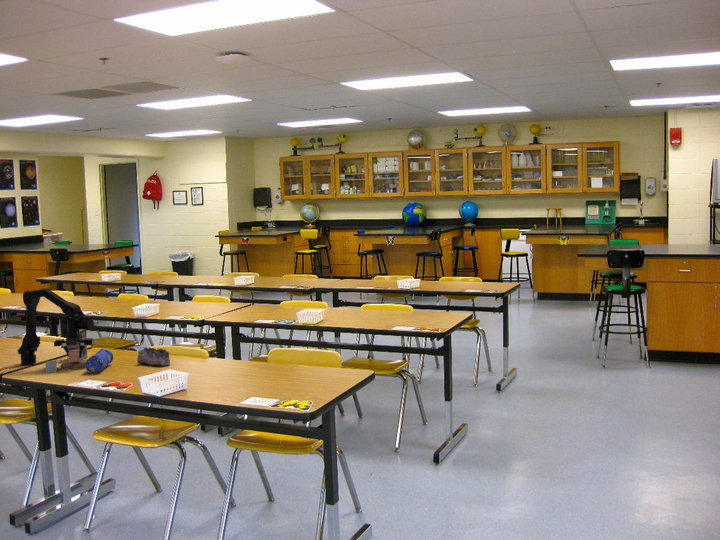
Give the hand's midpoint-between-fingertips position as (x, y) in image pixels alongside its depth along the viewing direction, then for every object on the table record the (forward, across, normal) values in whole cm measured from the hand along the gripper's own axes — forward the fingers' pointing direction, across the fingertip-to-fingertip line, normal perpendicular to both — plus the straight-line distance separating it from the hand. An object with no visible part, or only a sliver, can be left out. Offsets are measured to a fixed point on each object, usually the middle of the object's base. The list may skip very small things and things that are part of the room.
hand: (74, 358), depth 358 cm
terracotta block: (+1, 0, 0) cm, 1 cm away
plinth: (+4, 0, 0) cm, 4 cm away
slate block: (+4, -10, -9) cm, 14 cm away
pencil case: (+5, +14, -10) cm, 18 cm away
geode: (+4, +41, -3) cm, 41 cm away
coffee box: (+4, -2, +18) cm, 19 cm away
